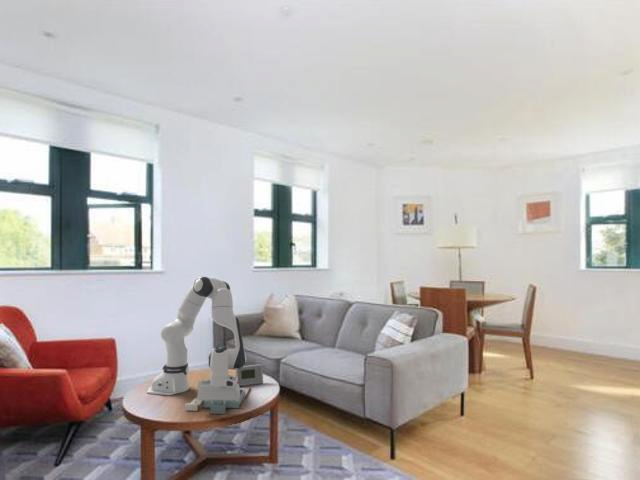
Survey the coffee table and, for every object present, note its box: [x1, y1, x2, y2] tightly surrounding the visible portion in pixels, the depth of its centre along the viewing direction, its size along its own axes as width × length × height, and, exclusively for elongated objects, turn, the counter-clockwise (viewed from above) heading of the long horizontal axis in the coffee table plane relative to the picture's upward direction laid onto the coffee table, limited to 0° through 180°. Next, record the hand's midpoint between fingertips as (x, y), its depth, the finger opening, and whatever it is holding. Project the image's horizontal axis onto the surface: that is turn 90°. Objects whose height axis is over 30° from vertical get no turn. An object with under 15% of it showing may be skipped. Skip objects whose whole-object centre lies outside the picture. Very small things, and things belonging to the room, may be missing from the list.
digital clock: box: [235, 363, 264, 387], centre depth 224 cm, size 16×9×11 cm, turn 101°
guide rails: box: [199, 387, 252, 410], centre depth 201 cm, size 20×28×1 cm
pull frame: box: [203, 388, 246, 415], centre depth 193 cm, size 18×25×4 cm
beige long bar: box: [184, 394, 205, 412], centre depth 198 cm, size 6×26×3 cm, turn 0°
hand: (218, 408), depth 183 cm, fingers closed on pull frame, 2 cm apart
